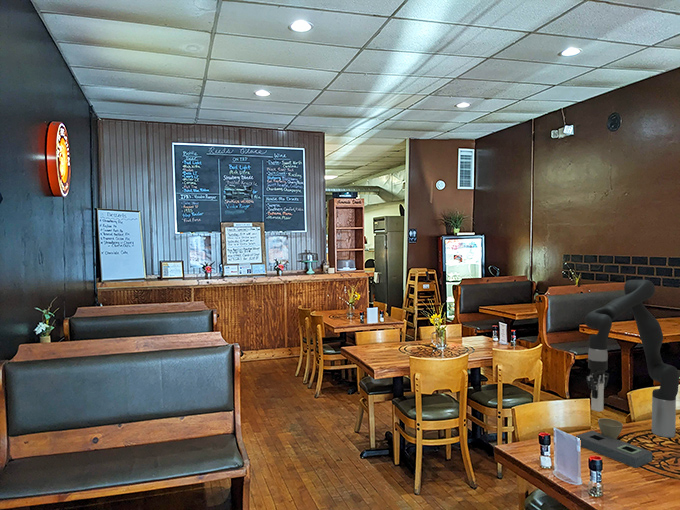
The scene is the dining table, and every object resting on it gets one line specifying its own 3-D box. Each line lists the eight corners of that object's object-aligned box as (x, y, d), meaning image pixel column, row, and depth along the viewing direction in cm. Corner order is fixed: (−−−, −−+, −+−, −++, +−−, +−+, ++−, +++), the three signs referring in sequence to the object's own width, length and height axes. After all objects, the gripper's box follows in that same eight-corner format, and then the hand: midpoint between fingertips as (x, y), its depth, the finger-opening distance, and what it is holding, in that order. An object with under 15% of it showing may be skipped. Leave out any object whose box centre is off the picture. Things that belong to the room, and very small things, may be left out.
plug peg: (594, 407, 214) (594, 380, 214) (603, 410, 210) (603, 383, 210) (589, 408, 212) (589, 382, 212) (598, 411, 209) (599, 384, 208)
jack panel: (592, 439, 220) (592, 430, 219) (652, 461, 197) (652, 451, 197) (575, 444, 214) (575, 435, 214) (635, 468, 191) (635, 457, 191)
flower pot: (597, 439, 219) (598, 423, 219) (597, 431, 228) (597, 416, 228) (623, 443, 215) (623, 427, 214) (621, 435, 224) (622, 420, 223)
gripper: (599, 354, 217) (598, 392, 218) (579, 358, 210) (579, 397, 211) (615, 358, 211) (615, 397, 211) (596, 362, 204) (595, 402, 204)
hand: (597, 397), depth 211 cm, fingers closed on plug peg, 3 cm apart
